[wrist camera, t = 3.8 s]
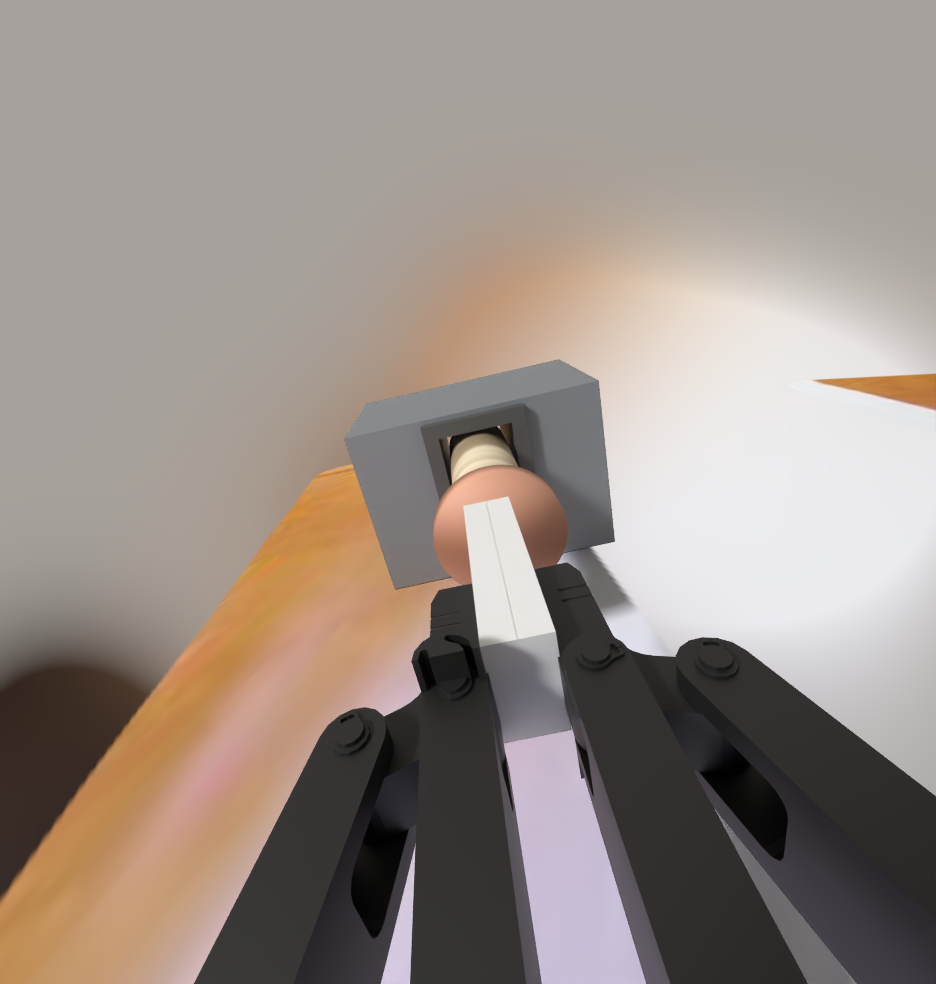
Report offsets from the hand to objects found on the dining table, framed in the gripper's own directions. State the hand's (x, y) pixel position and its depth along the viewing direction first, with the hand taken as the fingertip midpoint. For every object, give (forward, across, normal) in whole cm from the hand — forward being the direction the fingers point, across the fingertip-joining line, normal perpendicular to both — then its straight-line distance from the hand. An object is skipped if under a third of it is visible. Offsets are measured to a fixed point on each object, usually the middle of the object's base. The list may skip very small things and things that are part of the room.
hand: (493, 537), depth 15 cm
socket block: (+20, 0, -10) cm, 22 cm away
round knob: (+11, 0, -6) cm, 13 cm away
